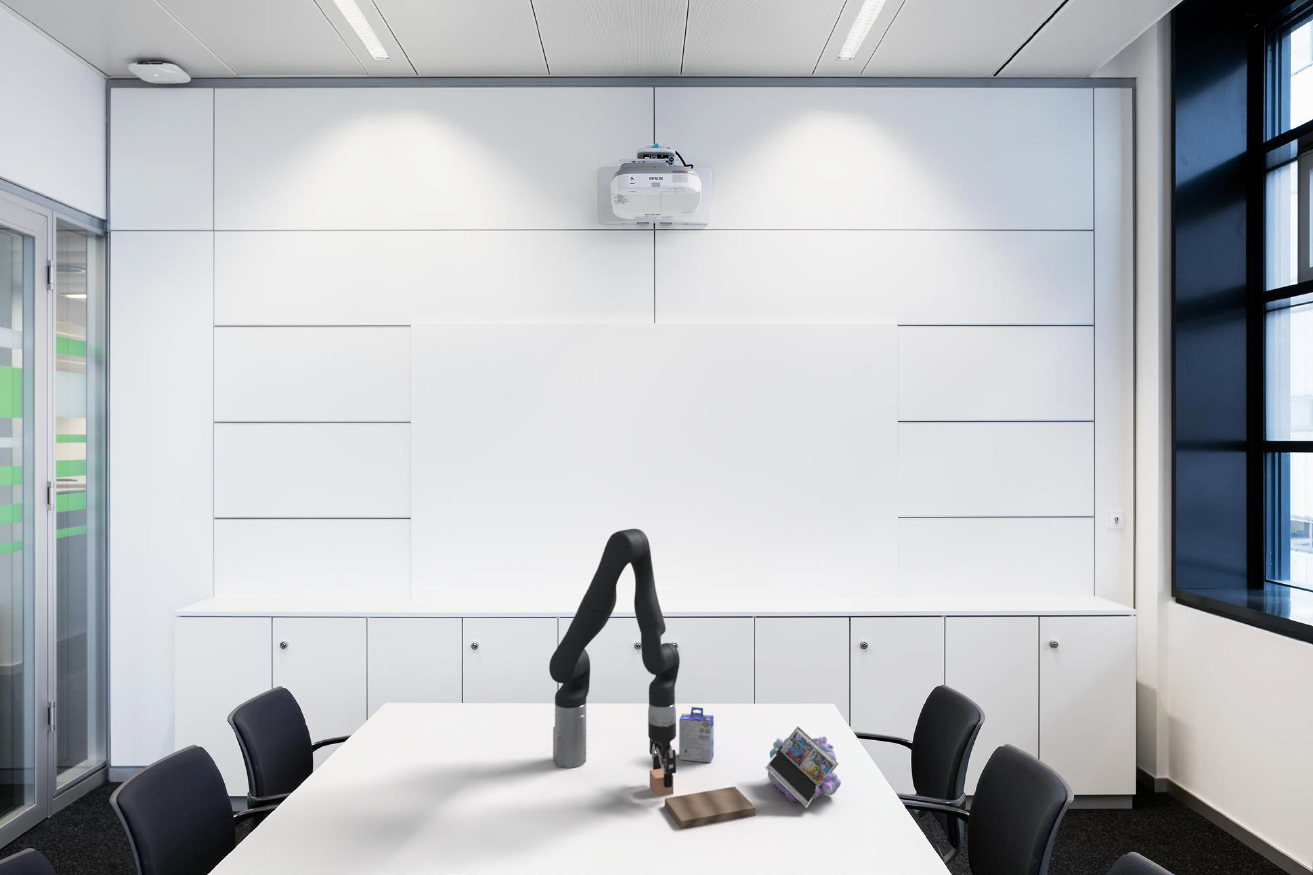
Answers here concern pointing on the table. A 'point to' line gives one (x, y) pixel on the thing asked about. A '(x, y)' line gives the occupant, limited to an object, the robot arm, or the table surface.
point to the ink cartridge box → (696, 736)
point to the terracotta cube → (659, 783)
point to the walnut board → (709, 807)
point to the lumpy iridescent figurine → (803, 767)
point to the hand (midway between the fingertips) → (662, 779)
